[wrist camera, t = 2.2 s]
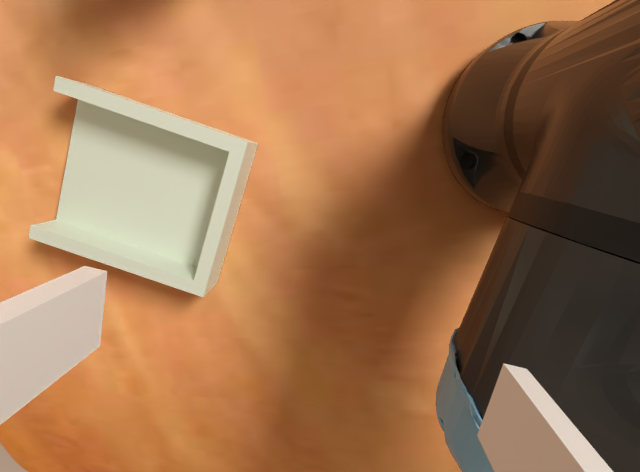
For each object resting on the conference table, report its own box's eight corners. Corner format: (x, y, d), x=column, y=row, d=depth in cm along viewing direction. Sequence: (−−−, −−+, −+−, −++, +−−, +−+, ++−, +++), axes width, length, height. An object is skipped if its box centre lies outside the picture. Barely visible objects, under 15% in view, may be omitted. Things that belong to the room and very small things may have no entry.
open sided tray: (88, 84, 34) (55, 75, 30) (258, 143, 34) (247, 142, 31) (61, 229, 37) (28, 238, 33) (217, 282, 38) (203, 297, 34)
